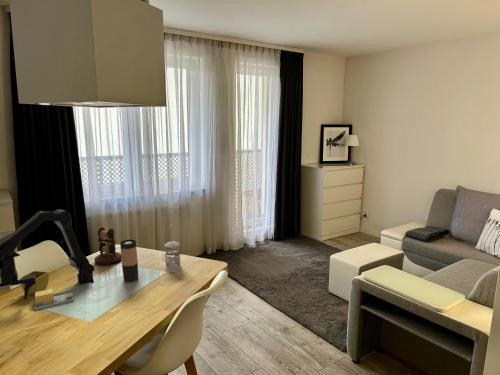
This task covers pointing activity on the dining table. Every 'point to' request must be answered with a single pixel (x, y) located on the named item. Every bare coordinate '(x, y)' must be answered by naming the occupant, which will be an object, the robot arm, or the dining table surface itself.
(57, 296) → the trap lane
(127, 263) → the travel mug
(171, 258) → the french press
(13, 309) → the dining table surface
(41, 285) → the flower pot
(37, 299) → the ochre block
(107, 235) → the brown sculpture
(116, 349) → the dining table surface
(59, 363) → the dining table surface
